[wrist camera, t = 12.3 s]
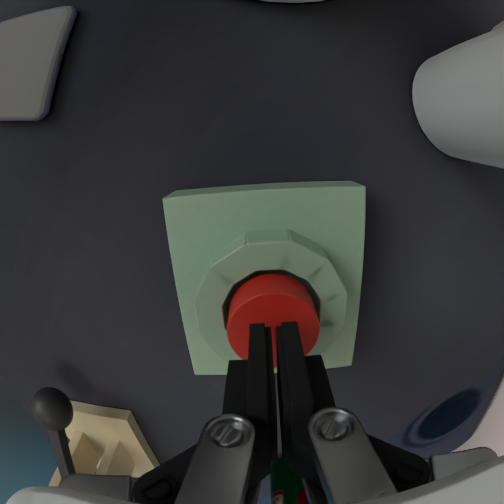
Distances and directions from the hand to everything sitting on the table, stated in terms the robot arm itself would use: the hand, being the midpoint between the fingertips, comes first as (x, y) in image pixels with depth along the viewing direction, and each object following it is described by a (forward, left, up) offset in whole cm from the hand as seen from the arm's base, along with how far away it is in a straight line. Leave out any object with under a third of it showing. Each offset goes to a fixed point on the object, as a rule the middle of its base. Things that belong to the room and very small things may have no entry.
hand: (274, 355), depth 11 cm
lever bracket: (+17, -16, -6) cm, 24 cm away
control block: (0, 0, -6) cm, 6 cm away
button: (0, 0, -3) cm, 3 cm away
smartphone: (-16, -18, -6) cm, 25 cm away
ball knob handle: (+13, -16, -1) cm, 21 cm away
